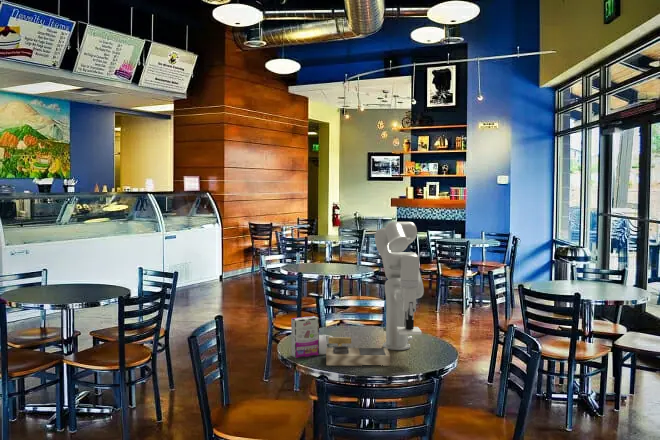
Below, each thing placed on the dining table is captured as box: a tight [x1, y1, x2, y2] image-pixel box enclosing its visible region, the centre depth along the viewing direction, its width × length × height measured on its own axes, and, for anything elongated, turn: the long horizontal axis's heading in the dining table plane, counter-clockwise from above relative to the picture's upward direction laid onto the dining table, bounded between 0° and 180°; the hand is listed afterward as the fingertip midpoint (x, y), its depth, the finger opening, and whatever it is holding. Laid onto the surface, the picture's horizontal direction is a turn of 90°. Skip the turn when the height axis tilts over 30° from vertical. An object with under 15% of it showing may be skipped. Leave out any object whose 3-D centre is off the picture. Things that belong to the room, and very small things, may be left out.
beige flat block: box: [325, 345, 391, 367], centre depth 246 cm, size 26×12×6 cm, turn 91°
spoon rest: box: [318, 334, 334, 356], centre depth 268 cm, size 24×12×7 cm, turn 6°
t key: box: [328, 336, 352, 346], centre depth 262 cm, size 10×4×6 cm, turn 90°
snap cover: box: [397, 317, 423, 336], centre depth 246 cm, size 9×9×6 cm
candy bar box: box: [290, 315, 320, 359], centre depth 254 cm, size 11×5×16 cm, turn 115°
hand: (409, 327), depth 246 cm, fingers closed on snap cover, 3 cm apart
